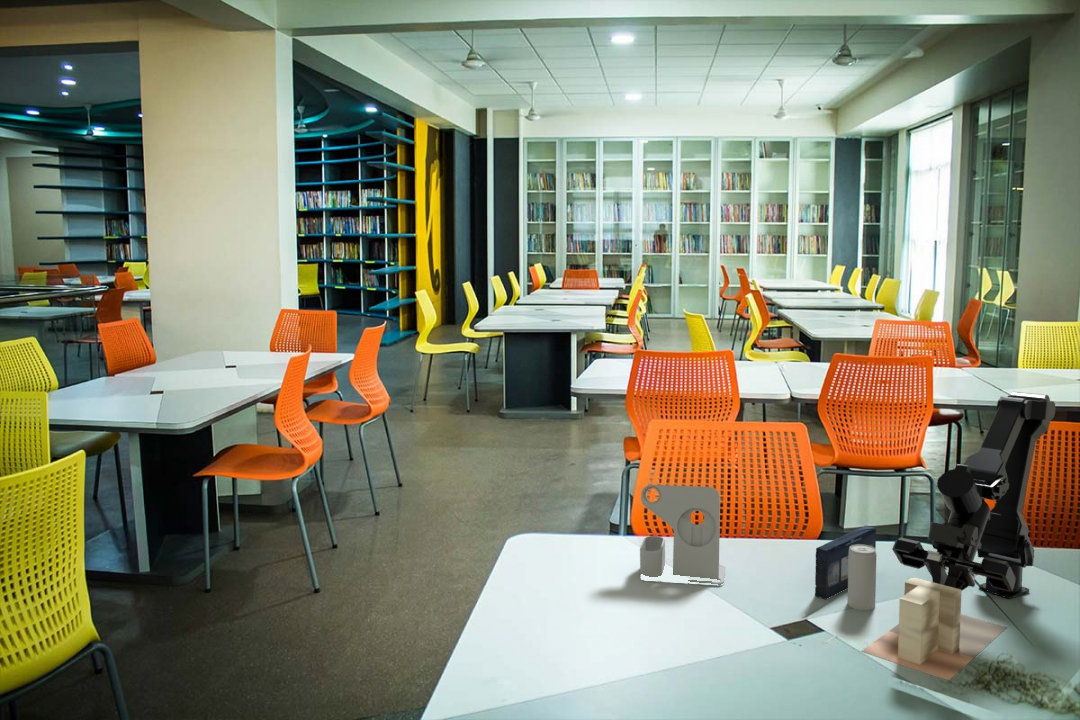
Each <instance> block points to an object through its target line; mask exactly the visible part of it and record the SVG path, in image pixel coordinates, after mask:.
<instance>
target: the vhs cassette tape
mask: <svg viewBox="0 0 1080 720" xmlns="http://www.w3.org/2000/svg"><path fill="white" fill-rule="evenodd" d="M876 539H877V528H876V527H874V526H870V525H863V526H862V527H859V528H857V529H854V530H852V531H851V532H848V533H846V534H844V535H843V536H839V537H837V538H835V539H833V540H830V541H829V542H827V543H824V544H823V545H820V546H818V547H816V549H815V573H814V575H815V577H814V578H815V579H814V581H815V583H814V584H815V587H814V589H815V591H814V596H815V597H816V598H820V597H821V599H823V600H828V599H830V598H832V597H834V596H836V595H838V594H840V593H842V592H844V591H846V590H848V557H849V547H850V546H852V545H856V544H863V545H869V546H872V547H874V548H875V549H876V546H877V540H876ZM845 589H846V590H845ZM843 590H844V591H843ZM841 591H842V592H841ZM839 592H840V593H839ZM837 593H838V594H837ZM835 594H836V595H835ZM831 596H832V597H831ZM829 597H830V598H829ZM827 598H828V599H827Z"/></svg>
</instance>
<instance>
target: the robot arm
mask: <svg viewBox="0 0 1080 720" xmlns="http://www.w3.org/2000/svg"><path fill="white" fill-rule="evenodd" d="M1055 415H1056V403H1055V401H1053V400H1051V398H1050V396H1049V395H1048V394H1040V393H1030V392H1022V391H1021V392H1019V391H1013V392H1012V393H1010V394H1008V395H1007V396H1000V397H999V399H998V400H997V404H996V412H995V414H994V417H993V419H992V421H991V424H990V425H989V428H988V431H987V432H986V435H985V437H984V439H983V440H982V443H981V446H980V448H979V450H978V451H977V452H975V453H973V454H971V455H969V456H967V457H966V459H965V461H964V463H963V464H961V463H960V464H958V463H956V465H955V468H953V469H949V470H947V471H945V472H944V473H942V474H941V476H939V477H938V479H937V483H936V484H937V485H936V486H937V490H938V491H939V493H940V495H941V497H942V499H943V501H944V503H945V505H946V507H947V509H948V510H949V511H951V512H950V514H949V518H948V521H944V522H943V523H939V522H933V521H931V522H930V527H929V531H928V536H927V541H928V542H932V545H931V546H932V547H933V549H934V550H936V551H934V550H930V549H929V550H925V548H924V547H923V545H922V543H921V542H920V541H919V540H913V539H908V538H904V537H899V538H898V539H896V540H895V541H894V543H893V546H892V548H891V549H892V551H893V553H894V554H895V556H896V558H897V560H898V562H899V563H900V564H901V565H903V566H906V567H910V568H913V569H917V570H920V569H921V568H924V567H926V570H927V571H928V573H929V574H930V575H931V578H932V579H931V581H932V582H934V583H937V584H941V585H945V586H949V587H953V588H957V589H961V590H962V591H964V590H965V589H967V588H968V587H971V588H974V587H975V586H976V583H975V580H976V577H977V576H981V577H985V582H983V583H981V584H978V588H979V589H982V590H984V591H988V592H990V593H992V594H995V595H998V596H1000V597H1004V598H1006V599H1013V598H1015V597H1019V596H1021V595H1023V594H1027V593H1030V588H1028V587H1025V586H1023V585H1022V584H1023V569H1025V568H1026V567H1033V566H1034V561H1035V560H1034V558H1035V549H1034V547H1033V544H1032V542H1031V539H1030V537H1029V536H1028V535H1029V527H1028V524H1027V523H1026V521H1025V518H1024V515H1023V509H1024V505H1025V499H1026V494H1027V489H1028V485H1029V484H1028V483H1029V480H1030V475H1031V474H1030V473H1031V470H1032V463H1033V459H1034V454H1035V449H1036V445H1037V444H1036V443H1037V441H1038V440H1039V439H1040V438H1041V437H1042V436H1044V434H1045V433H1046V432H1047V431H1048V430H1049V429H1050V428H1049V427H1050V424H1051V420H1053V419H1054V417H1055ZM984 499H985V500H989V501H995V505H994V506H993V508H990V506H989V504H988V503H987V502H986V501H985V500H984ZM976 554H977V557H978V558H982V560H981V562H976V561H974V560H975V557H976ZM947 571H948V572H947Z"/></svg>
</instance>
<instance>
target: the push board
mask: <svg viewBox="0 0 1080 720" xmlns="http://www.w3.org/2000/svg"><path fill="white" fill-rule="evenodd" d="M1007 629H1008V626H1004V625H1001V624H997V623H994V622H990V621H986V620H983V619H980V618H977V617H972V616H970V615H969V616H968V615H965V614H962V613H961V618H960V644H959V648H958V649H957V650H956V651H955V652H954V653H953V654H950V653H947V652H944V651H941V650H937V651H936V652H934V653H933V654H932V655H931V656H930V657H928V658H927V659H926V660H925V661H924V662H922V663H921V664H920V665H919V664H916V663H913V662H910V661H907V660H904V659H901V658H898V640H899V623H897V624H896V625H895V626H894V627H893V628H891V629H889V630H888V631H887V632H886V633H884V634H883V635H881V636H880V637H878V638H877V639H876V640H875V641H873V642H872V643H869V645H867V646H866V647H865V648H864V649H862V650H861V652H862V653H865V654H867V655H871V656H874V657H877V658H880V659H883V660H886V661H889V662H892V663H895V664H898V665H901V666H904V667H906V668H910V669H913V670H915V671H919V672H922V673H925V674H928V675H930V676H934V677H935V678H936V677H937V678H940V679H942V680H946V681H950V680H952V678H954V677H955V675H957V674H959V672H960V671H962V670H963V669H964V667H966V666H967V665H968V664H969V663H970V662H972V660H973V659H974V658H976V657H977V656H978V655H979V654H980V653H982V651H983V650H984V649H986V648H987V647H988V646H989V645H990V644H991V643H992V642H994V641H995V640H996V639H997V638H998V637H999V636H1000V635H1001V634H1002V633H1003V632H1004V631H1006V630H1007Z"/></svg>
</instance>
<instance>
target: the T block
mask: <svg viewBox="0 0 1080 720" xmlns="http://www.w3.org/2000/svg"><path fill="white" fill-rule="evenodd" d="M962 592H963V590H961V589H957V588H953V587H949V586H945V585H941V584H937V583H934V582H933V581H930V580H925V579H921V578H918V577H917V578H916V577H913V576H912V577H911V578H909V579H907V580H906V581H905V582H904V595H903V596H901V597H900V598H899V609H898V611H899V612H898V615H899V616H898V618H899V619H898V624H899V640H898V658H901V659H904V660H907V661H910V662H913V663H916V664H919V665H920V664H921V663H922V662H924V661H925V660H926V659H927V658H928V657H930V656H931V655H932V654H933V653H934V652H936V651H937V650H941V651H944V652H947V653H950V654H953V653H954V652H955V651H956V650H957V649H958V648H959V644H960V618H961V614H962Z"/></svg>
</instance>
